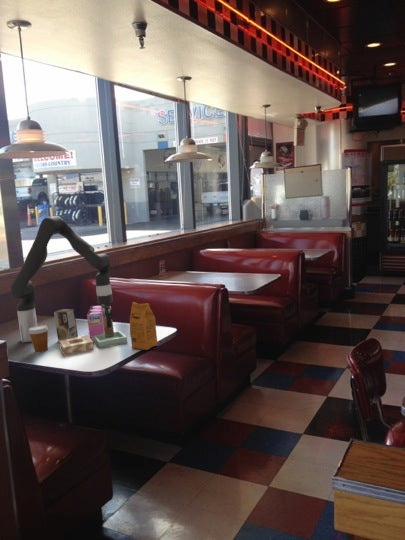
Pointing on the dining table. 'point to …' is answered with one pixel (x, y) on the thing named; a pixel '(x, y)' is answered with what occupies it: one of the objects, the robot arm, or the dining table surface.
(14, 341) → the dining table surface
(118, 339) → the tray
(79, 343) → the wooden square frame
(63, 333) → the coffee box
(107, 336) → the pin
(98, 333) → the gum box
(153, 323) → the coffee package
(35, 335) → the disposable coffee cup
